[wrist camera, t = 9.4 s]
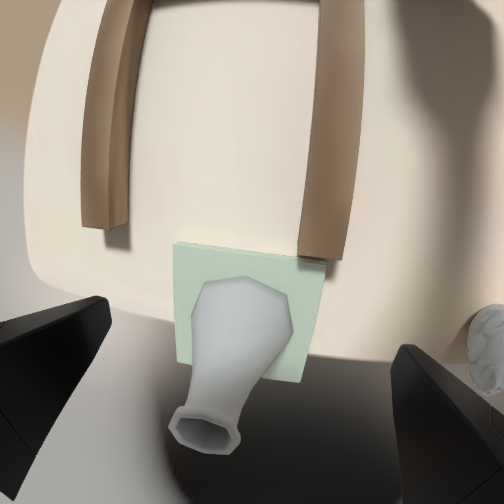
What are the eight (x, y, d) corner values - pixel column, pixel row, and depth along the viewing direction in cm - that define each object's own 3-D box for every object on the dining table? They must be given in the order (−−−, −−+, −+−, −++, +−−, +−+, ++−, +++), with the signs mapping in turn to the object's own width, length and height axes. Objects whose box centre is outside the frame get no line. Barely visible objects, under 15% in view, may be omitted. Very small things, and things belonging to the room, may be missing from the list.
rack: (354, -32, 11) (360, -54, 8) (335, 247, 18) (343, 263, 15) (134, -24, 13) (117, -39, 10) (101, 218, 20) (77, 228, 17)
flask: (193, 265, 19) (112, 356, 10) (303, 281, 18) (305, 398, 9) (192, 351, 21) (140, 451, 12) (285, 367, 21) (273, 482, 11)
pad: (325, 261, 18) (327, 265, 18) (300, 376, 22) (299, 382, 21) (177, 241, 19) (173, 244, 19) (180, 355, 23) (177, 361, 22)
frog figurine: (438, 355, 19) (468, 411, 13) (470, 281, 17) (519, 326, 11) (483, 356, 19) (515, 403, 12) (514, 289, 17) (559, 328, 10)
